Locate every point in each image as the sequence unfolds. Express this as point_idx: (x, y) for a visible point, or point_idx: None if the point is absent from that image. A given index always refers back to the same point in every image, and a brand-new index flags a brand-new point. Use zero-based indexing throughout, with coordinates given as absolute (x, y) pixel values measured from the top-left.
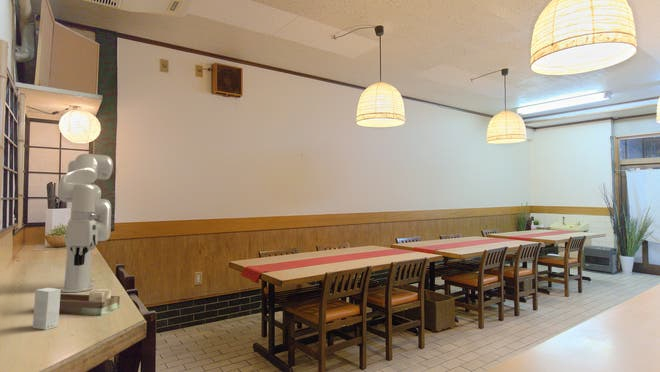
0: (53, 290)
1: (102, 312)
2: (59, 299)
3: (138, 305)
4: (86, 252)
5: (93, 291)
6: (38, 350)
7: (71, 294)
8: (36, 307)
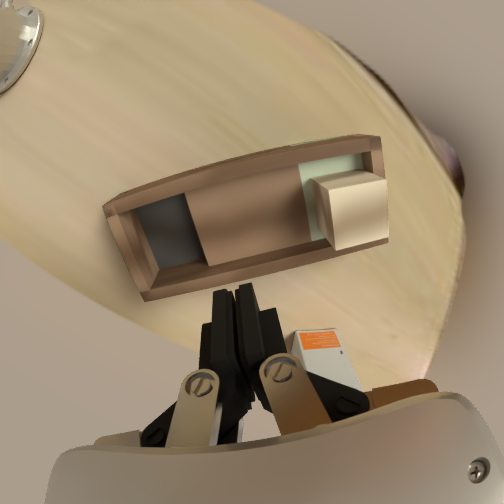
0: None
1: None
2: (356, 376)
3: (386, 83)
4: (322, 383)
5: (341, 234)
6: (385, 381)
7: (164, 192)
8: None
